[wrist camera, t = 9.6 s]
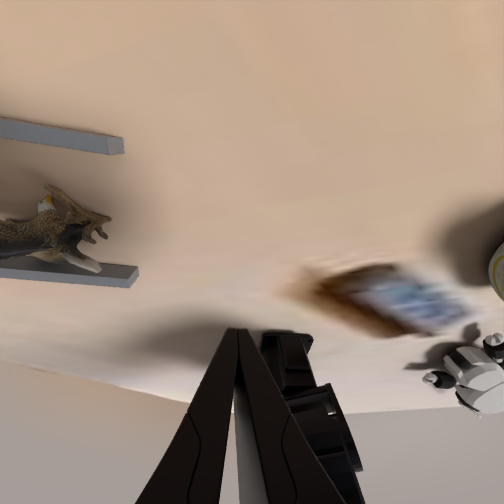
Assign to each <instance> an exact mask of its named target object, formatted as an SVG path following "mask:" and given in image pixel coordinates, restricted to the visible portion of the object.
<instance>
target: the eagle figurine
mask: <svg viewBox="0 0 504 504" xmlns="http://www.w3.org/2000/svg"><path fill="white" fill-rule="evenodd" d="M44 187H45V188H46V189H47V190H49V191H50V192H51V193H52V194H53V195H54V196H55V197H56V198H57V199H59V200H60V201H61V202H63V203H64V204H65V205H67V207H68V209H69V210H68V213H67V214H66V215H65V217H64V218H65V219H63V218H62V216H61V215H60V214H59V213H58V212H57V210H56V209H55V206H54V205H53V203H52V199H51V197H52V196H51V195H48V196H47V197H46V198H45V199H44V200H43V201H40V202H39V205H38V216H37V217H36V218H35V219H33V220H31V221H28V222H21V223H14V222H12V221H10V220H6V222H5V221H1V220H0V260H9V259H14V258H18V257H20V256H24V255H28V254H31V255H33V256H35V257H37V258H39V259H41V260H44V261H46V262H49V263H54V264H75V265H76V266H79V267H82V268H85V269H88V270H90V271H93V272H95V273H99V271H102V269H101V267H100V265H99V264H98V263H97V261H95V260H94V259H92V258H90V257H88V256H86V255H84V254H82V253H81V252H80V251H79V250H78V249H77V245H78V243H79V241H80V240H82V238H83V240H85V241H87V242H89V243H92V244H96V243H97V242H96V241H95V240H93V239H92V238H91V233H92V232H93V231H94V230H96V231H97V232H98V234H99V235H100V236H101V237H102V238H104V239H108V235H107V234H106V233H104V232H103V231H102V228H101V226H100V225H102V224H103V223H106V222H109V221H111V220H112V219H111V217H104V216H101V215H100V214H95V213H94V212H93V213H91V212H88V211H87V210H84V209H83V208H81V207H80V206H79V205H78V204H77V203H76V202H74V201H73V200H72V199H71V198H70V197H69V196H67V195H66V194H65V193H64V192H63V191H62V190H61V189H59V188H57V187H55V186H52V185H49V184H45V185H44Z"/></svg>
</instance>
